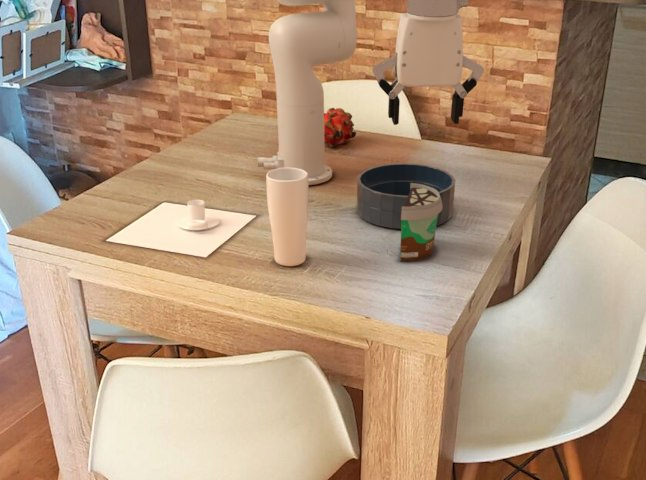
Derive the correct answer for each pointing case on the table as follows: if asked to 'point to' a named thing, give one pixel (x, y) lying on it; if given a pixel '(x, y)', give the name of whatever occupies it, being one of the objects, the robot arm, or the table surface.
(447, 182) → the bowl
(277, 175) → the drinking glass
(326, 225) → the table surface
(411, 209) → the food container
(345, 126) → the dragon fruit
